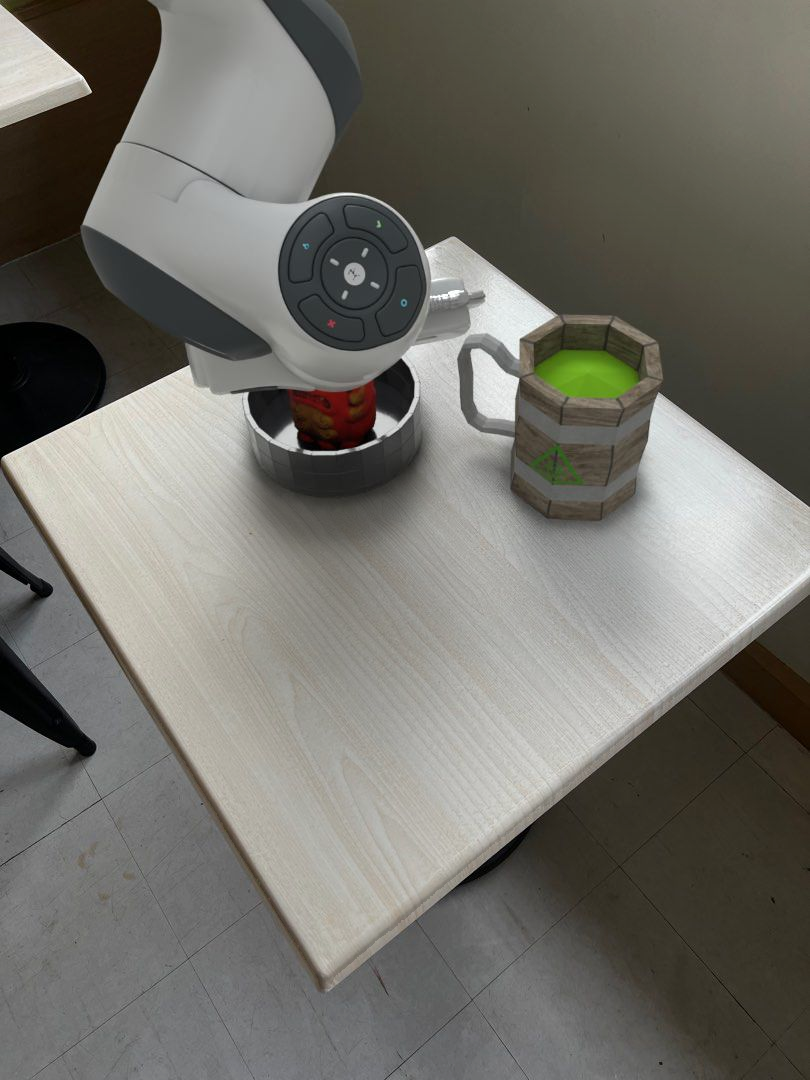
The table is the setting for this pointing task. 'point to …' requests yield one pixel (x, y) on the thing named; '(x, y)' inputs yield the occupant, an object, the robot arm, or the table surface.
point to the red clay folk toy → (334, 416)
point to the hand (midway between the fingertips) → (324, 344)
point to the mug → (573, 411)
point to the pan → (341, 469)
